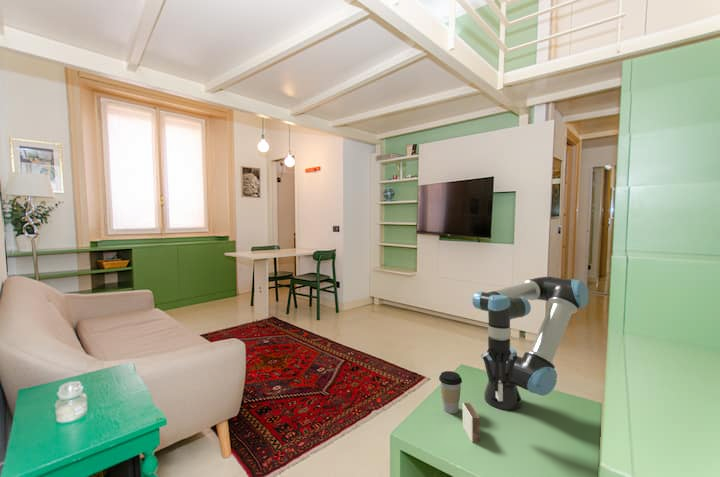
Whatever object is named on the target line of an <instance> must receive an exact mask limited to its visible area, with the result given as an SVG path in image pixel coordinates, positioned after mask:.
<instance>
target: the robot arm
mask: <svg viewBox="0 0 720 477" xmlns="http://www.w3.org/2000/svg"><path fill="white" fill-rule="evenodd" d="M589 299H590V298H589V289H588V286H587V284H586V283H585V282H584V281H582V280H579V279H575V278H572V279H571V278H562V277H554V276H543V277H542V276H540V277H535V278H530V279H526V280H524V281H522V283H521V284H520V283H519V284H517V285H511V286H510V287H504V288H501V289H496V290H492V291H488V292H484V291H476V292H475V293H474V294H473V296H472V306H473V307H474V308H475V309H478V310H480V311H484V312H487V314H488V322H487V323H488V324H487V327H488V328H487V330H488V331H487V332H488V333H487V334H488V339H487V340H488V345H487V346H488V349H487V350H486V353H485V354H483V353H482V354H481V355H480V356H481V358H482V360H483V362H484V367H485V370H486V375H487V378H488V381H487V384H486V387H485V389H484V400H485V402H486V403H487V404H488V405H491V406H492V407H494V408H496V409H500V410H504V411H514V410H518V409H520V408H521V407H522V397H521V394H520V391H519V388H521V389H524V390H526V391H528V392H530V393H532V394H536V395H538V396H547V395H549V394H550V393H551V392H552V391H553V390H554V389H555V387H556V384H557V378H558V374H557V371H556V369H555V367H556V365H555V364H554V362H553V361H554V358H555V357H556V353H557V351H558V349H559V346H560V345H561V344H560V343H561V341H562V339H563V336H564V334H565V332H566V329H567V327H568V324H569V322H570V319H571V317H572V315H573V314H576V313H578V310H579V308H581V309H582V308H586V306H587V305H588V303H589ZM535 300H538V301H546V302H547V303H548V304H549V308H548V309H547V312H546V314H545V317H544V319H543V321H542V323H541V325H540V327H539V329H538V332H537V334H536V337H535V339H534V341H533V343H532V346H531V348H530V350H529V351H525V352H524V354H523V355H522V357H521V356H518V353H517V350H515V349H513V348H511V339H510V338H511V320H514V319H518V318H523V317H525V316H528V315H529V314H530V312H531V310H532V308H531V303H530V301H535ZM518 387H519V388H518Z"/></svg>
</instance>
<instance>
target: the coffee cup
mask: <svg viewBox="0 0 720 477" xmlns="http://www.w3.org/2000/svg"><path fill="white" fill-rule="evenodd" d="M438 381H440V391H441V392H440V393H441V399H442V405H443V410H444V411H445V412H446V413H447V414H451V415H452V414H453V415H454V414H456V413H458V412H459V406H460V398H461V388H462V387H461V385H462V384H463V383H462V382H463V379H462V377H461V375H460V374H459V373H457V372H455V371H452V370H451V371H450V370H446V371H442V372H441V373H440V375H439V377H438Z"/></svg>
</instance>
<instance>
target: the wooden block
mask: <svg viewBox="0 0 720 477" xmlns="http://www.w3.org/2000/svg"><path fill="white" fill-rule="evenodd" d="M462 427H463V429H464V431H465V432H466V434H467V436H468V438H469V439H470V441H471V443H480V442H481V418H480V416H479V415H478V413H477V411H476V409H475V408H474V406H473V405H472V404H471V402H462Z"/></svg>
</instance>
